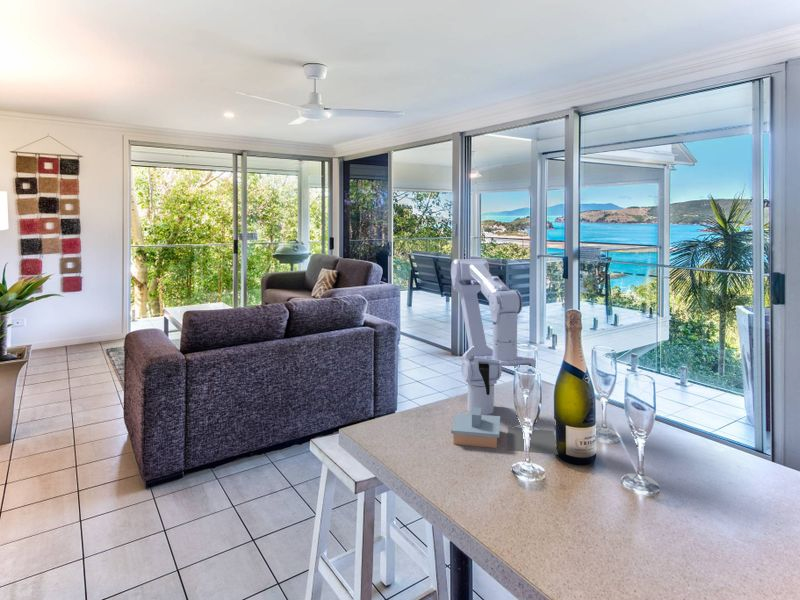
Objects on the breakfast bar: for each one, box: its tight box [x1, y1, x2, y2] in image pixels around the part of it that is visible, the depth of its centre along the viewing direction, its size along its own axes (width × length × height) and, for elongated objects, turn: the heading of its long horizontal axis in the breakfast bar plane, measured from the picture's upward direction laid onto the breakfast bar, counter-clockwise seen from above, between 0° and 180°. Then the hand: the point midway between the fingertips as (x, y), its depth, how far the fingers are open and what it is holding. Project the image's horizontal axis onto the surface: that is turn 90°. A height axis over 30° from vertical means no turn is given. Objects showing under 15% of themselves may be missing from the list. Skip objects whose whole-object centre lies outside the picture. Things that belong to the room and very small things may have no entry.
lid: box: [450, 407, 501, 439], centre depth 119 cm, size 11×11×4 cm
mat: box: [507, 426, 559, 455], centre depth 118 cm, size 13×11×1 cm
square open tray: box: [452, 434, 498, 449], centre depth 119 cm, size 10×10×4 cm
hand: (504, 394), depth 121 cm, fingers open, 7 cm apart
